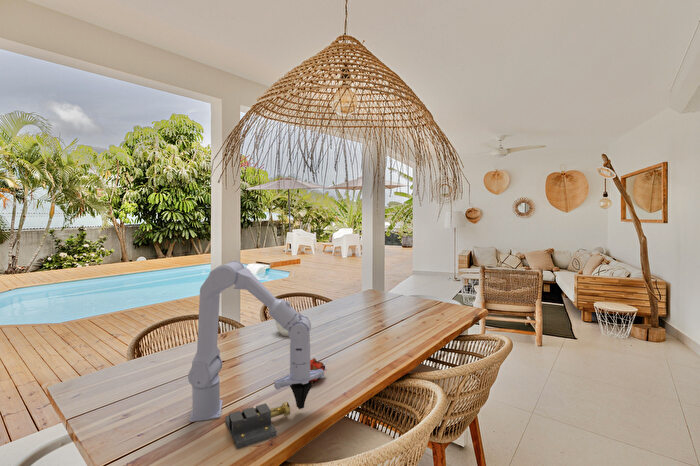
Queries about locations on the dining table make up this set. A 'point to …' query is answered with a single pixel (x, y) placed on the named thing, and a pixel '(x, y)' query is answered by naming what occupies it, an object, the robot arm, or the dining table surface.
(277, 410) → the pin
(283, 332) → the lidded bowl
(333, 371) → the dining table surface
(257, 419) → the hinge leaves
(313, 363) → the dragon fruit
